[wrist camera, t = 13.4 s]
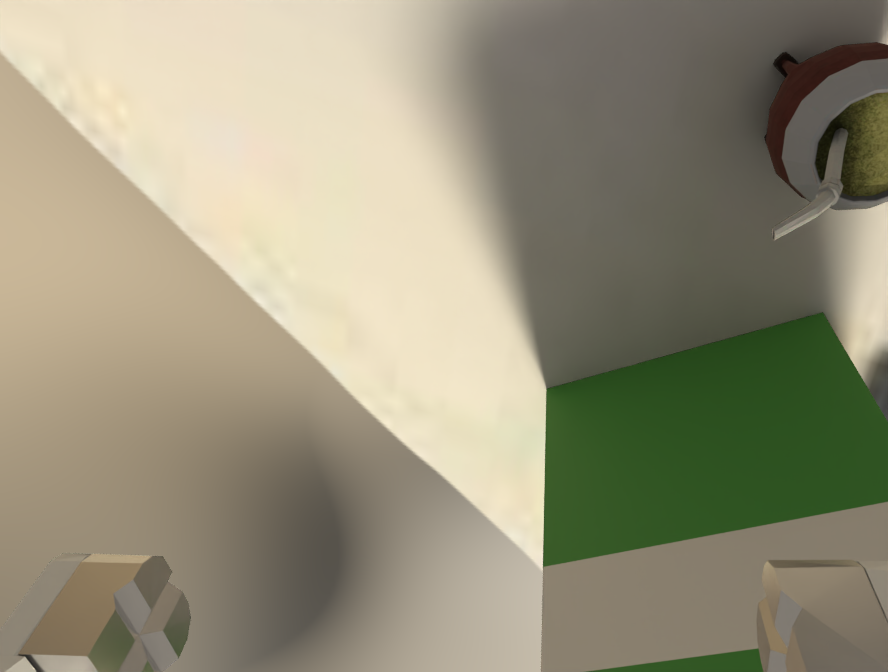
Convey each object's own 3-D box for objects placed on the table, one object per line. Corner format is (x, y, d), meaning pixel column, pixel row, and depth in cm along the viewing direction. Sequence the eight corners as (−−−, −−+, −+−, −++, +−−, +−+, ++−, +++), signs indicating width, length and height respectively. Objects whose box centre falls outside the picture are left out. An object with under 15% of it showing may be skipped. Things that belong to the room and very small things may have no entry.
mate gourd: (925, 88, 35) (1122, 208, 23) (790, 200, 39) (897, 353, 27) (828, -16, 34) (987, 54, 21) (697, 112, 38) (766, 235, 25)
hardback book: (822, 312, 43) (1050, 695, 23) (842, 403, 46) (1057, 806, 26) (546, 388, 49) (539, 746, 29) (582, 464, 52) (597, 831, 32)
